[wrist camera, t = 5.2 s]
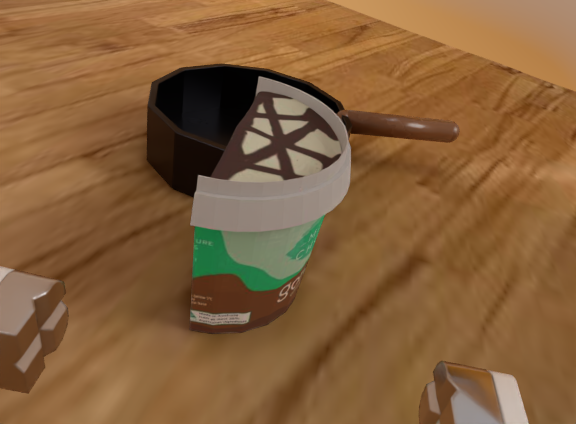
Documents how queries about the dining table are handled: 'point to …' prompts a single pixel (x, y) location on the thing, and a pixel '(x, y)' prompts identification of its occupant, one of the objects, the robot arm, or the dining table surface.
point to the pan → (231, 110)
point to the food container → (265, 209)
